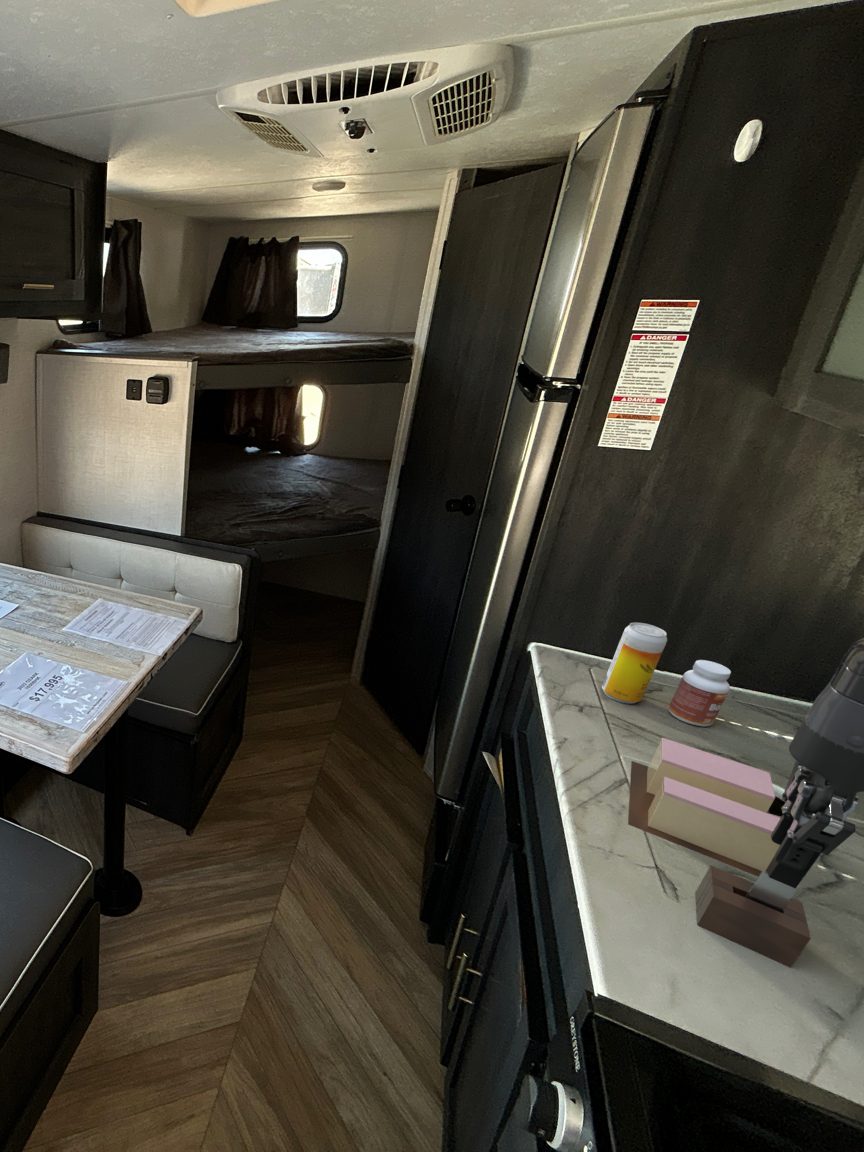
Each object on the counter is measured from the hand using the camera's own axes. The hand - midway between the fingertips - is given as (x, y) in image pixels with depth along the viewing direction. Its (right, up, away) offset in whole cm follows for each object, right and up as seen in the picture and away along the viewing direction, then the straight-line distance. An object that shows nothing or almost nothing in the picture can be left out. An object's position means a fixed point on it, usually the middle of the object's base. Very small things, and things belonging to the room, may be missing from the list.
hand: (785, 853), depth 72 cm
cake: (+15, -3, +24) cm, 29 cm away
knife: (0, -12, +5) cm, 12 cm away
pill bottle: (+33, +4, +45) cm, 56 cm away
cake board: (+12, -6, +22) cm, 25 cm away
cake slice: (+8, -6, +17) cm, 20 cm away
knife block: (0, -12, +5) cm, 13 cm away
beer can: (+26, +6, +51) cm, 57 cm away
